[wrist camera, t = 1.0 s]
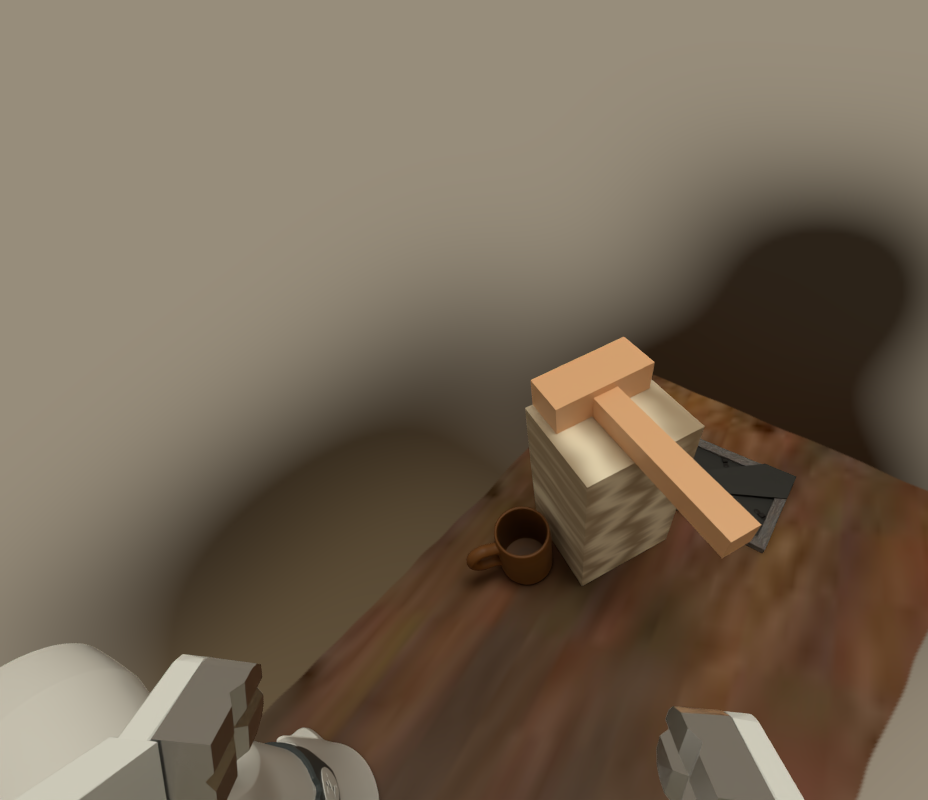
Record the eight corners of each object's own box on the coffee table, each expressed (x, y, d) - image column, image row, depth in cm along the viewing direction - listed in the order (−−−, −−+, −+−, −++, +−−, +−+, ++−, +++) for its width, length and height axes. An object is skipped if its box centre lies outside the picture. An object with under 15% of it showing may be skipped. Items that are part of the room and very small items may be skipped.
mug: (484, 608, 64) (474, 583, 57) (465, 560, 69) (454, 531, 62) (562, 573, 65) (562, 544, 59) (538, 527, 71) (534, 496, 64)
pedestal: (582, 586, 64) (587, 487, 45) (536, 516, 72) (525, 408, 53) (665, 539, 66) (704, 426, 47) (613, 476, 74) (628, 359, 55)
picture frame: (791, 483, 69) (671, 433, 78) (796, 476, 68) (672, 425, 77) (761, 555, 63) (634, 490, 72) (765, 548, 62) (636, 484, 71)
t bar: (677, 584, 38) (686, 564, 35) (532, 404, 53) (530, 380, 50) (792, 516, 40) (810, 492, 37) (621, 362, 55) (623, 336, 52)
